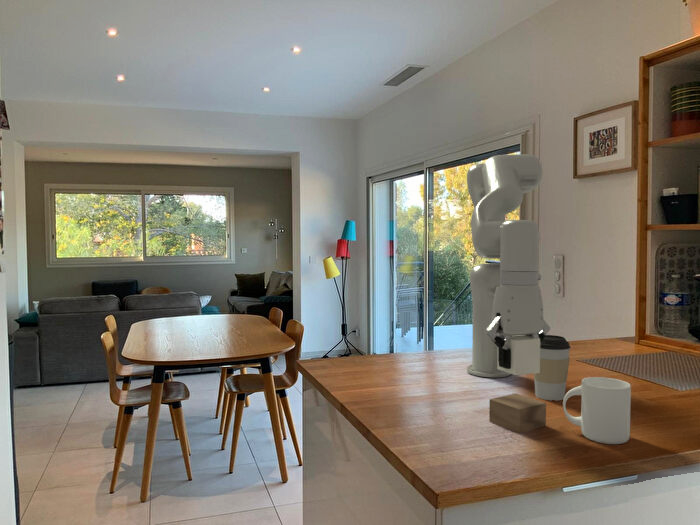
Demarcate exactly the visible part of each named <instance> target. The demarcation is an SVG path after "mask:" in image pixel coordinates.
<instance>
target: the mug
mask: <svg viewBox="0 0 700 525" xmlns="http://www.w3.org/2000/svg"><path fill="white" fill-rule="evenodd" d="M631 393H632V386H631V384H630V383H629V382H627V381H624V380H622V379H617V378H611V377H605V376H604V377H603V376H593V377H592V376H591V377H590V376H588V377H584V378H582V379H581V385H579V386H576V387H573V388H571V389H570V390H568V391H567V392H565V397H564V399H563V401H562V407H563V412H564V415H565V418H567V420H568V421H569V422H570V423H571V424H573V425H575V426H577V427H581V428H580V430H581V434H582V436H584V438H587V439H588V440H590V441H593V442H596V443H600V444H607V445H621V444H625V443H627V442H628V441H629V440H630V436H631V400H632V399H631V397H632V394H631ZM572 396H573V397H574V396H581V397H580V398H581V405H580V408H581V409H580V410H581V411H580V413H581V414H580V416H573V415H571V414H570V413H569V412H568V411H567V409H566V404H567V402H568V401H567V400H568V399H569V398H570V397H572Z"/></svg>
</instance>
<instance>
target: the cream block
mask: <svg viewBox="0 0 700 525" xmlns="http://www.w3.org/2000/svg"><path fill="white" fill-rule="evenodd" d="M504 339H505V338H504ZM508 349H510V350H511V368H510V369H506V368H503V367H500V366H499V362H498V347H497V369H499V370H502V371H505V372H507V373H510V374H511V375H514V376H522V375H531V374H533V375H534V373H540V339H539V338H533V337H530V336H525V335H515V336H512V339H511V342H510V345H509V348H508Z"/></svg>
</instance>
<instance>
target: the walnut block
mask: <svg viewBox="0 0 700 525" xmlns="http://www.w3.org/2000/svg"><path fill="white" fill-rule="evenodd" d="M488 409H489V416H488V417H489V418H488V422H490V423H492V424H495V425H497V426H500V427H502V428H504V429H508V430H510V431H513V432H516V433H518V434H522V433H525V432H529V431H533V430H535V429H540V428H543V427H546V425H547V402H544V401H541V400H538V399H534V398H531V397H528V396H526V395H525V396H524V395H522V394H518V393H517V392H516V393H511V394H507V395H502V396H498V397H494V398H489V408H488Z"/></svg>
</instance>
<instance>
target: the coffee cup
mask: <svg viewBox="0 0 700 525" xmlns="http://www.w3.org/2000/svg"><path fill="white" fill-rule="evenodd" d="M566 339H567V338H565V337H564V336H561V335H552V334H546V335H545V337H544V339H543V340H542V342H541V345H540V373H534V374H533V379H534V393H535V397H537V398H539V399H541V400H546V401H552V400H555V401H562V400H564V397H565V395H566V389H567V382H568V375H569V374H568V373H569V364H570V349H571V344H570V343H569V341H567V340H566Z"/></svg>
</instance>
